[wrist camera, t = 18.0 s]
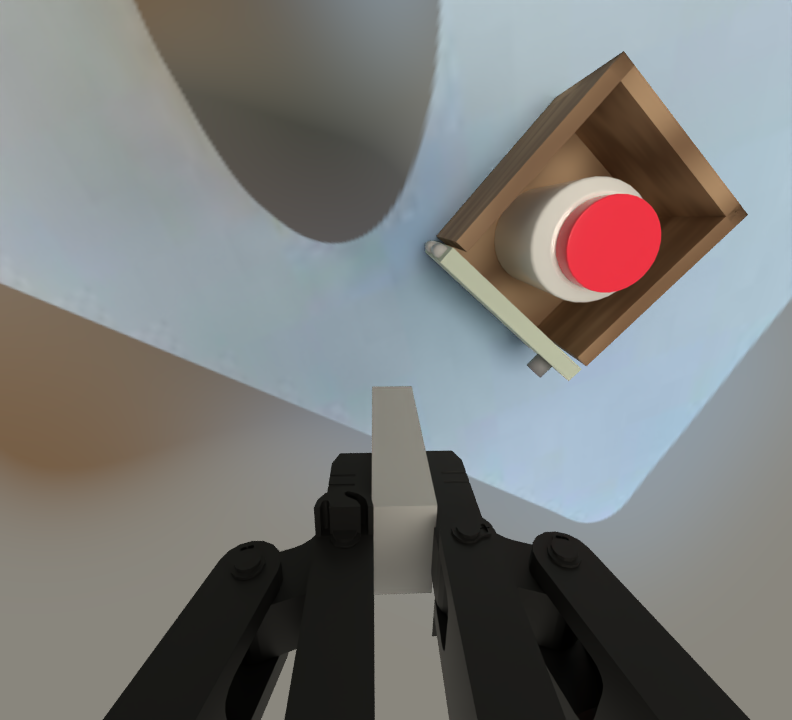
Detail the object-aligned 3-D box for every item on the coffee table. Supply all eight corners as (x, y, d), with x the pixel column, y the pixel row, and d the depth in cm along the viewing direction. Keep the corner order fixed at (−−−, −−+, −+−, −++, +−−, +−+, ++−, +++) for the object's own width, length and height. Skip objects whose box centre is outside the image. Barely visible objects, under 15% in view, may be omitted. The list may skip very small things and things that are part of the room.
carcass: (436, 235, 34) (456, 241, 25) (555, 97, 31) (623, 51, 22) (538, 332, 37) (586, 366, 29) (655, 215, 34) (747, 214, 26)
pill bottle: (516, 172, 31) (585, 149, 21) (602, 204, 33) (708, 198, 22) (480, 267, 34) (525, 289, 23) (561, 295, 35) (639, 327, 25)
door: (410, 258, 34) (421, 271, 26) (429, 236, 34) (446, 241, 25) (516, 354, 37) (556, 392, 29) (535, 335, 37) (581, 369, 29)
